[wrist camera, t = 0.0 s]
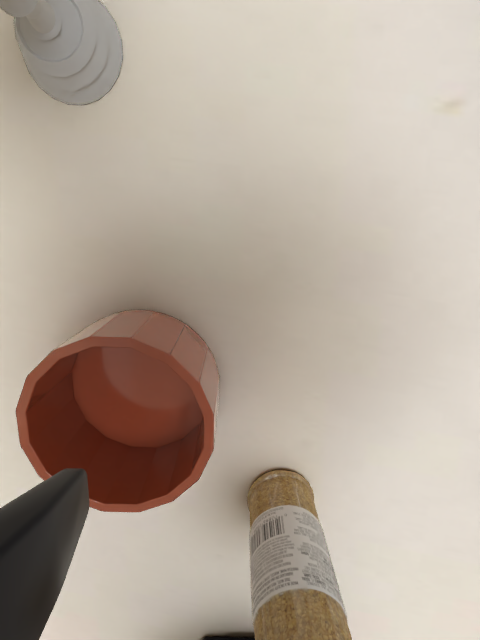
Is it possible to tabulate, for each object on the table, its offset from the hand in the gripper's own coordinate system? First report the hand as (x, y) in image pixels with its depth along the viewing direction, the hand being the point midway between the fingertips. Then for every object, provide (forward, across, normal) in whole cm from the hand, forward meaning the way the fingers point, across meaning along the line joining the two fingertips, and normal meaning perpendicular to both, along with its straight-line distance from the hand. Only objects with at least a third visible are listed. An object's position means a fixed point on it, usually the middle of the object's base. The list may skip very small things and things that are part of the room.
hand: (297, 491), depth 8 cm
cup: (+15, +7, +4) cm, 17 cm away
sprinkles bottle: (+15, -2, +12) cm, 19 cm away
